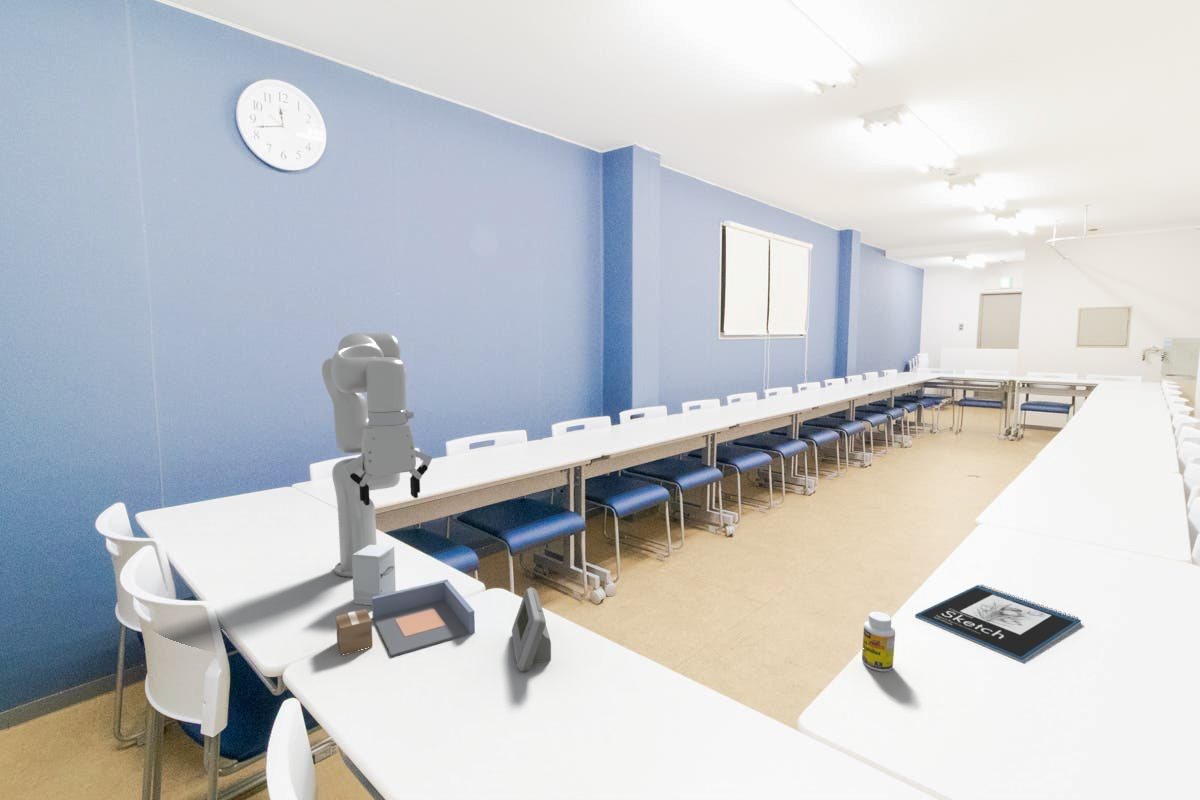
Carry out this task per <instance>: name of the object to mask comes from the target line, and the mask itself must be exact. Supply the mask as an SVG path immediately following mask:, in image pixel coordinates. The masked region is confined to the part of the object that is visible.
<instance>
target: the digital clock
mask: <svg viewBox="0 0 1200 800" xmlns="http://www.w3.org/2000/svg"><path fill="white" fill-rule="evenodd" d="M519 606H520V607H519V609H518V611H517V613H516V616H515V620H514V623H513V625H512V629H511V634H512V643H513V649H514V655H515V661H516V667H517V668H518V669H519V670H520V671H521V672H527V671H529V670H530V669H531V667H532V664H533V663H540V662H548V661H551V659H552V642H551V638H550V633H549V629H548V627H547V622H546V617H545V614H544V611H543V607H542V603H541V599H540V596H539V594H538V591H537V590H536V589H535V588H534V587H532V586H531V587H529V588H526V590H525V592H524V595H523V597H522V600H521V603H520V605H519Z"/></svg>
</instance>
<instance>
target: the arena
mask: <svg viewBox="0 0 1200 800" xmlns="http://www.w3.org/2000/svg"><path fill="white" fill-rule="evenodd" d="M371 612H372V614H371V615H372V619H373V621H375V622H374V624H375V623H376V624H375V626H376V625H377V626H376V627H378V628H377V630H378V632H379V634H380V633H381V634H380V636H381V635H382V636H381V638H382V637H383V638H382V640H383V639H384V640H383V642H384V644H386V645H385V646H387V647H386V649H387V648H388V649H387V651H388V650H389V651H388V653H389V652H390V653H389V655H390V657H391V658H393V657H396V656H395V655H397V656H399V655H398V654H400V655H404V654H406V653H410V652H413V651H418V650H420V649H423V648H428V647H431V646H433V645H437V644H441V643H444V642H448V641H451V640H455V639H457V638H461V637H464V636H467V635H471V634H475V633H476V631H475V630H476V629H475V628H476V627H475V623H476V622H475V610H474V608H473V607H472V606H471V605H470V603H468V602H467V601H466V599H465V598H464V597H463V596H462V595H461V594H460V593H459V592H458V590H457V589H456V588H455V587H454V586H453V585H452V583H451V582H450V581H449V579H442V580H439V581H435V582H430V583H426V584H422V585H418V586H413V587H408V588H404V589H401V590H397V591H396V592H391V593H387V594H383V595H379V596H374V597H372V605H371ZM392 656H393V657H392Z"/></svg>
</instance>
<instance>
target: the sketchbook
mask: <svg viewBox="0 0 1200 800" xmlns="http://www.w3.org/2000/svg"><path fill="white" fill-rule="evenodd" d="M914 617H915V618H917V619H920V620H922V621H924V622H927V623H929V624H931V625H934V626H936V627H939V628H940V629H943V630H945V631H948V632H950V633H952V634H955V635H956V636H959V637H962V638H964V639H967V640H969V641H971V642H974V643H975V644H978V645H981V646H983V647H985V648H987V649H989V650H992V651H995V652H997V653H999V654H1001V655H1004V656H1006V657H1008V658H1011V659H1013V660H1016V661H1018V662H1020V663H1023V662H1024V661H1027V660H1028V659H1029V658H1031V657H1032V656H1034V655H1035V654H1037V653H1039V652H1040V651H1042V650H1043V649H1044V648H1047V647H1048V646H1049V645H1051V644H1053V643H1054V642H1056V641H1057V640H1059V639H1060V638H1062V637H1063V636H1064V635H1066V634H1068V633H1070V632H1071V631H1072V630H1074V629H1075V628H1077V627H1078V626H1080V625H1081V624H1082V623H1081V622H1082V620H1081V619H1079V617H1078V616H1075V615H1073V614H1070V613H1066V612H1065V611H1064V612H1062V611H1061V610H1057V609H1056V608H1055V609H1053V608H1052V607H1048V606H1045V605H1043V604H1040V603H1036V602H1035V601H1031V600H1028V599H1026V598H1023V597H1020V596H1016V595H1014V594H1011V593H1007V592H1006V591H1005V592H1004V591H1002V590H999V589H995V588H992V587H989V586H987V585H984V584H977V585H975V586H972V587H970V588H968V589H966V590H964V591H962V592H960V593H958V594H955V595H953V596H951V597H949V598H947V599H945V600H943V601H941V602H938V603H937V604H934V605H932V606H931V607H927V608H926V609H923V610H922V611H920V612H918V613H916V614H915V616H914Z"/></svg>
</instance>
